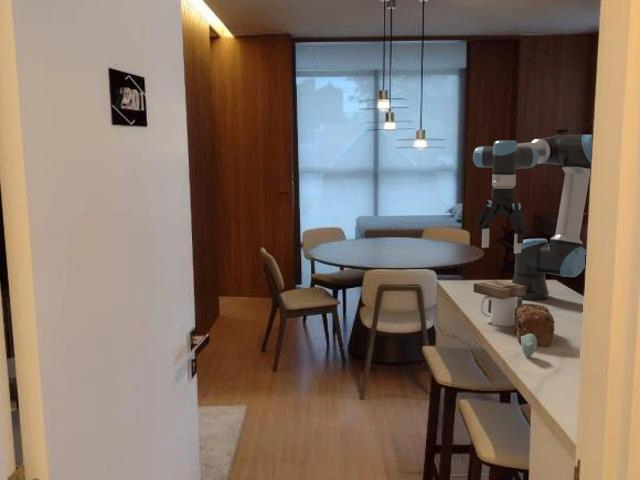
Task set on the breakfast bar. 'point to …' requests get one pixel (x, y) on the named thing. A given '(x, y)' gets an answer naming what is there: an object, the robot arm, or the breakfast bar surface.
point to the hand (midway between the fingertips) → (500, 250)
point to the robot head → (528, 344)
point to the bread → (535, 323)
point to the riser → (517, 304)
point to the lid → (499, 289)
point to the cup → (501, 310)
